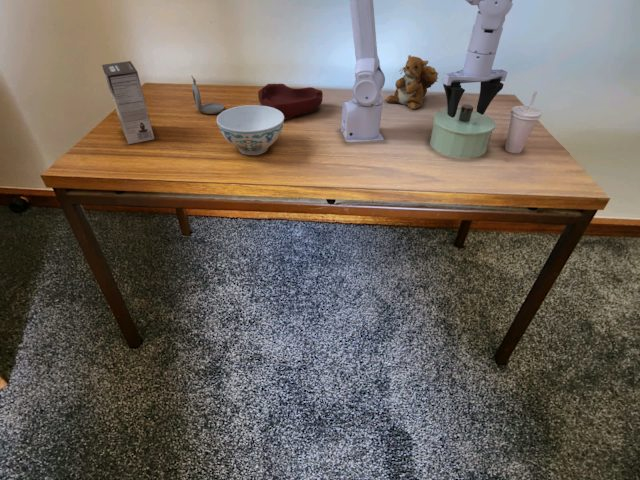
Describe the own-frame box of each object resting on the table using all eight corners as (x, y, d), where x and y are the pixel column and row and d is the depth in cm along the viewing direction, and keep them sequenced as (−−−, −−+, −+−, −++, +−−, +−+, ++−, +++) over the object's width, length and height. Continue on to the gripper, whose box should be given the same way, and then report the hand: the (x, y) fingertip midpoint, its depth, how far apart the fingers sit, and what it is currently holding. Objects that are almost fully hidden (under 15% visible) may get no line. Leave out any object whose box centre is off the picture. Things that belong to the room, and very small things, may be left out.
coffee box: (121, 130, 100) (100, 63, 90) (147, 126, 103) (130, 60, 93) (128, 145, 94) (106, 75, 84) (156, 139, 97) (138, 70, 87)
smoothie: (514, 158, 93) (535, 98, 84) (493, 147, 97) (511, 88, 88) (532, 152, 95) (555, 93, 86) (511, 142, 99) (531, 84, 91)
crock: (442, 161, 91) (448, 135, 87) (421, 136, 101) (426, 112, 97) (495, 158, 92) (504, 132, 88) (470, 134, 103) (476, 110, 99)
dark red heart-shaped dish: (245, 118, 108) (243, 99, 105) (269, 98, 120) (268, 81, 117) (307, 127, 104) (306, 108, 101) (325, 106, 116) (326, 88, 113)
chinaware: (268, 169, 86) (266, 135, 82) (208, 156, 90) (203, 124, 85) (295, 141, 98) (294, 110, 93) (241, 131, 101) (237, 101, 96)
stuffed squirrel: (383, 102, 119) (388, 55, 111) (411, 92, 127) (419, 47, 118) (410, 112, 114) (418, 63, 105) (438, 100, 121) (447, 54, 113)
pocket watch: (229, 109, 113) (224, 73, 106) (207, 119, 107) (201, 81, 101) (208, 103, 116) (202, 67, 110) (186, 112, 110) (178, 75, 104)
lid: (482, 142, 85) (488, 123, 83) (422, 126, 92) (426, 108, 89) (502, 122, 94) (507, 104, 92) (446, 108, 100) (449, 91, 98)
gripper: (500, 44, 87) (482, 105, 96) (441, 47, 84) (428, 110, 93) (520, 52, 82) (500, 116, 91) (458, 56, 79) (444, 122, 88)
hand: (465, 114), depth 91 cm, fingers open, 7 cm apart
